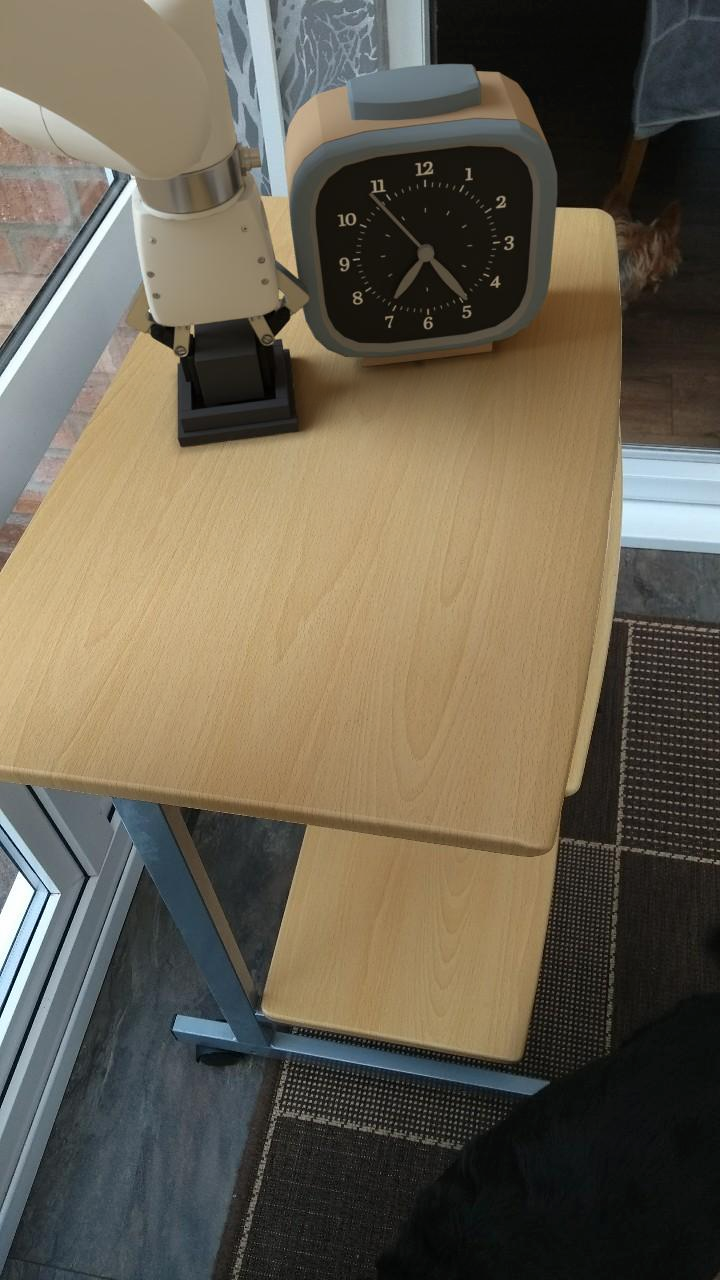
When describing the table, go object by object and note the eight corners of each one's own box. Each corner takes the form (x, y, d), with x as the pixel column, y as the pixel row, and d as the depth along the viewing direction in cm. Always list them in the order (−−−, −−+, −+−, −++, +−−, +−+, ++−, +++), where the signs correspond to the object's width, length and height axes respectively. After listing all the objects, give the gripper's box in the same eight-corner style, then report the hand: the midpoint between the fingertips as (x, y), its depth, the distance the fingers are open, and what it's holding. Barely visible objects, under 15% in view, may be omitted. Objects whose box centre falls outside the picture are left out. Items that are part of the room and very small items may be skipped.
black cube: (205, 405, 85) (194, 361, 82) (204, 368, 88) (193, 324, 85) (264, 397, 85) (256, 353, 82) (261, 360, 88) (253, 316, 85)
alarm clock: (312, 380, 89) (278, 133, 72) (305, 315, 95) (272, 72, 78) (545, 352, 89) (567, 98, 72) (524, 289, 95) (540, 40, 78)
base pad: (180, 447, 85) (173, 423, 83) (179, 372, 91) (173, 349, 89) (299, 431, 85) (295, 407, 83) (290, 357, 91) (287, 334, 89)
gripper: (303, 132, 74) (328, 340, 89) (72, 162, 74) (134, 366, 89) (312, 184, 70) (337, 395, 84) (65, 217, 70) (132, 423, 84)
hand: (233, 378), depth 86 cm, fingers closed on black cube, 4 cm apart
